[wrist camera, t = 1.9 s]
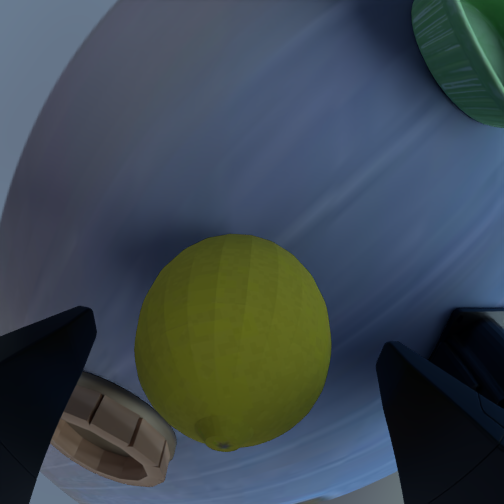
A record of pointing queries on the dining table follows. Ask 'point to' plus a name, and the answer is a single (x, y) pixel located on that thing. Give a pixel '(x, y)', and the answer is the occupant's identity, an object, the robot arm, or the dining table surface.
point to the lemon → (233, 342)
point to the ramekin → (465, 53)
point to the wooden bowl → (114, 434)
